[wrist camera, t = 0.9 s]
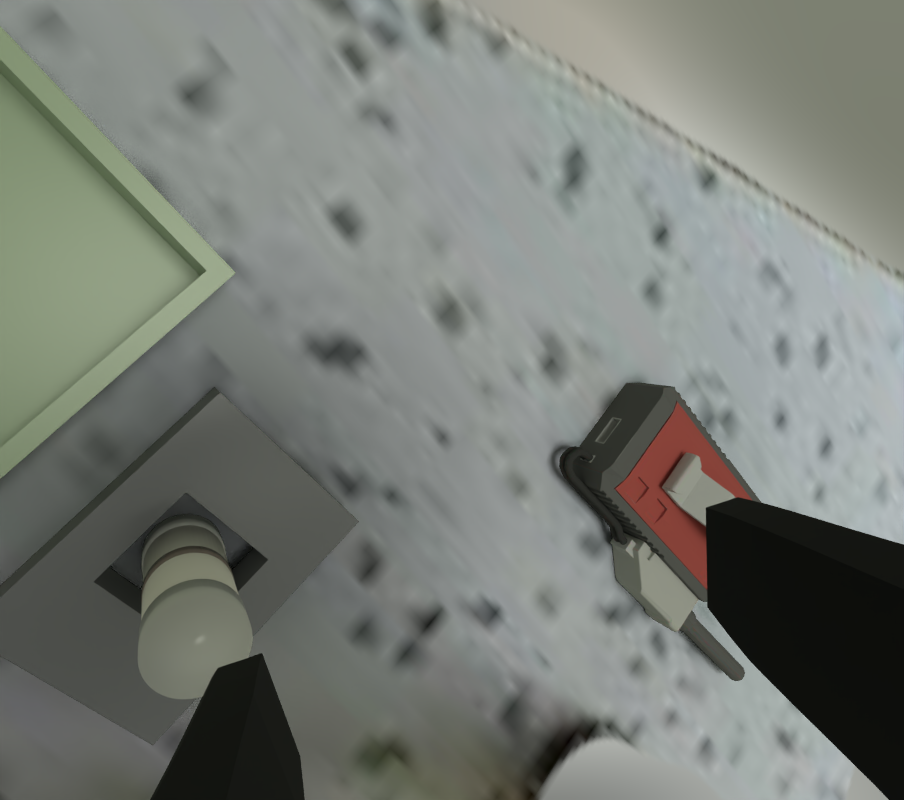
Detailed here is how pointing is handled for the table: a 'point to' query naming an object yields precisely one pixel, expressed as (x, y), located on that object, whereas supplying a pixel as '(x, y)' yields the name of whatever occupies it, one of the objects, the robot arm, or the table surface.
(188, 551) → the cylinder
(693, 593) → the red belt-clip case
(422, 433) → the table surface
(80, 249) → the parts tray
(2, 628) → the fuse block
